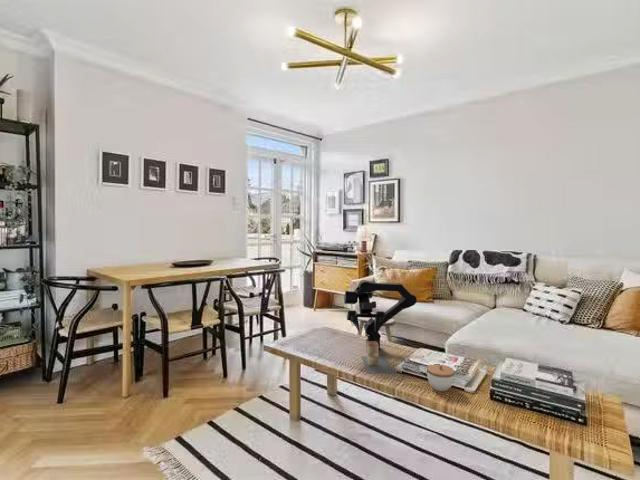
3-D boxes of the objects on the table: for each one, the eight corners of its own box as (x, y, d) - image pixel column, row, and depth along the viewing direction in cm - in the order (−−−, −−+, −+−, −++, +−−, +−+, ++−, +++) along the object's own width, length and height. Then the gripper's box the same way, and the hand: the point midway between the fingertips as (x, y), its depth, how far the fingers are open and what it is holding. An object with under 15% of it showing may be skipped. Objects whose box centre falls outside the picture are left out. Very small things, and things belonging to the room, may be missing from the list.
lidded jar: (435, 379, 158) (435, 358, 157) (459, 388, 150) (459, 365, 150) (421, 387, 151) (422, 365, 150) (445, 396, 143) (446, 373, 142)
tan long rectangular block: (376, 361, 176) (376, 341, 176) (378, 365, 172) (378, 344, 171) (366, 361, 176) (367, 341, 175) (368, 365, 171) (368, 344, 171)
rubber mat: (384, 356, 183) (384, 355, 183) (395, 373, 163) (395, 372, 163) (360, 357, 183) (360, 356, 183) (368, 374, 163) (368, 373, 163)
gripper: (348, 294, 185) (350, 322, 174) (385, 295, 186) (389, 323, 175) (345, 306, 193) (347, 333, 183) (380, 307, 194) (384, 334, 184)
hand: (367, 331), depth 181 cm, fingers open, 8 cm apart
